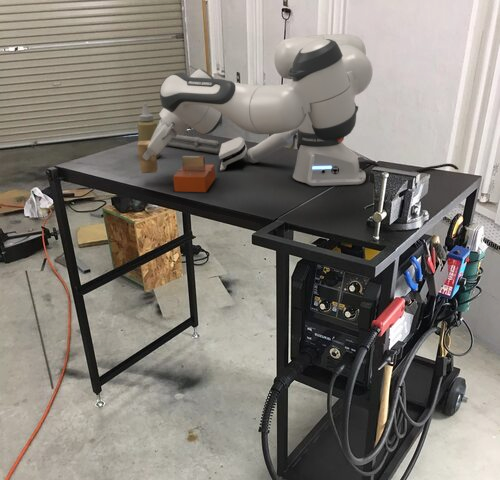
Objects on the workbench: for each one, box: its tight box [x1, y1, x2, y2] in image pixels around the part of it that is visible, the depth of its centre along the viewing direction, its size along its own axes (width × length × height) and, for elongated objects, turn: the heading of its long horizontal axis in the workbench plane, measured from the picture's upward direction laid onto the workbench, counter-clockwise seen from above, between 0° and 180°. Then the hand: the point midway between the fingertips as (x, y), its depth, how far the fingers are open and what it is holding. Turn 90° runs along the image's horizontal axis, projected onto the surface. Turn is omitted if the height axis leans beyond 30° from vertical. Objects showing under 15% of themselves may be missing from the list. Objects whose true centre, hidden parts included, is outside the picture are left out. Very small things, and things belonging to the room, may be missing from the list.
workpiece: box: [136, 141, 159, 174], centre depth 161 cm, size 5×5×8 cm
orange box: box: [172, 164, 216, 193], centre depth 163 cm, size 13×11×5 cm
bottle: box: [245, 127, 299, 164], centre depth 173 cm, size 5×5×25 cm
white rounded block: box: [218, 136, 248, 172], centre depth 180 cm, size 17×5×10 cm
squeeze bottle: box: [137, 103, 161, 159], centre depth 188 cm, size 8×8×18 cm
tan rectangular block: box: [181, 154, 206, 171], centre depth 161 cm, size 6×2×4 cm, turn 80°
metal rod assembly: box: [166, 134, 220, 155], centre depth 199 cm, size 26×3×5 cm, turn 54°
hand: (145, 155), depth 161 cm, fingers closed on workpiece, 4 cm apart
